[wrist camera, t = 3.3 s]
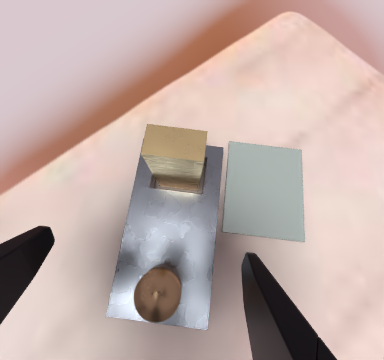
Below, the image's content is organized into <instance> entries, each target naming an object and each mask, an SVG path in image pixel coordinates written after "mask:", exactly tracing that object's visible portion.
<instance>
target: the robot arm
mask: <svg viewBox="0 0 384 360" xmlns="http://www.w3.org/2000/svg"><path fill="white" fill-rule="evenodd" d="M54 242H55V239H54V236H53V233H52V230H51V228H50V227H48V226H38V227H36V228H33V229H31V230H29V231H27V232H25V233H23V234H21V235H18V236H16V237H14V238H12V239H10V240H8V241H6V242H3V243H1V244H0V324H1V323H2V322H3V320H4V319H5V317H6V316H7V315H8V313H9V312H10V310H11V309H12V308H13V306H14V305H15V303H16V302H17V301H18V299H19V298H20V296H21V295H22V294H23V292H24V291H25V289H26V288H27V287H28V285H29V284H30V283H31V281H32V280H33V278H34V277H35V275H36V273H37V272H38V270H39V269H40V267H41V265H42V263H43V262H44V260H45V258H46V257H47V255H48V253H49V252H50V250H51V248H52V246H53V245H54ZM241 270H242V286H243V301H244V310H245V316H246V322H247V328H248V334H249V340H250V345H251V351H252V357H253V360H337V359H336V358H335V356H334V355H333V354H332V353H331V351H330V350H329V349H328V347H327V346H326V345H325V343H324V342H323V341H322V340H321V338H320V337H318V334H317V333H316V332H315V331H314V329H313V328H312V327H311V325H310V324H309V323H308V321H307V320H306V319H305V317H304V316H303V315H302V313H301V312H300V311H299V310H298V308H297V307H296V306H295V304H294V303H293V302H292V300H291V299H290V298H289V296H288V295H287V294H286V293H285V291H284V290H283V289H282V287H281V286H280V285H279V283H278V282H277V281H276V279H275V278H274V277H273V276H272V274H271V273H270V272H269V270H268V269H267V268H266V266H265V265H264V264H263V262H262V261H261V260H260V258H259V257H258V256H257V255H256V254H255V253H249V252H247V253H246V254H245V257H244V259H243V262H242V267H241Z"/></svg>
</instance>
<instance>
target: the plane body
mask: <svg viewBox="0 0 384 360" xmlns="http://www.w3.org/2000/svg"><path fill="white" fill-rule="evenodd" d="M143 141H144V139H143ZM142 146H143V144H142ZM141 151H142V149H141ZM222 158H223V147H215V146H206V148H205V157H204V164H203V165H205V174H204V183H203V192H202V194H195V193H187V192H179V191H171V190H163V189H155V188H154V187H155V181H156V179H155V177H154V175H153V174H152V172H151V170H150V169H149V167H148V165H147V163H146V162H145V160H144V158H143V157H142V155H141V153H140V158H139V163H138V168H137V172H136V177H135V182H134V186H133V191H132V196H131V200H130V205H129V210H128V215H127V219H126V224H125V229H124V233H123V238H122V243H121V248H120V252H119V257H118V262H117V266H116V271H115V276H114V280H113V285H112V290H111V295H110V299H109V304H108V309H107V313H106V316H107V317H114V318H122V319H129V320H137V321H144V322H151V323H159V324H166V325H174V326H181V327H188V328H196V329H203V330H208V321H209V309H210V297H211V286H212V274H213V262H214V251H215V239H216V228H217V216H218V204H219V193H220V181H221V170H222Z"/></svg>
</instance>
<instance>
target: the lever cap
mask: <svg viewBox="0 0 384 360" xmlns="http://www.w3.org/2000/svg"><path fill="white" fill-rule="evenodd" d="M206 140H207V131H200V130H192V129H184V128H176V127H167V126H159V125H151V124H147V127H146V132H145V136H144V141H143V146H142V151H141V155H142V157H143V158H144V160H145V162H146V163H147V165H148V167H149V169H150V170H151V172H152V174H153V175H154V177H155V179H156V180H157V182H158V184H159V186H164V187H172V188H180V189H188V190H196V191H198V186H199V182H200V177H201V173H202V168H203V164H204V157H205V148H206Z"/></svg>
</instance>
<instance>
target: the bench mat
mask: <svg viewBox="0 0 384 360" xmlns="http://www.w3.org/2000/svg"><path fill="white" fill-rule="evenodd" d="M222 232H229V233H237V234H244V235H252V236H260V237H268V238H276V239H284V240H291V241H299V242H305V233H304V204H303V175H302V150H298V149H290V148H282V147H273V146H265V145H257V144H249V143H240V142H232V141H229V149H228V162H227V174H226V187H225V200H224V213H223V225H222Z"/></svg>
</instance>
